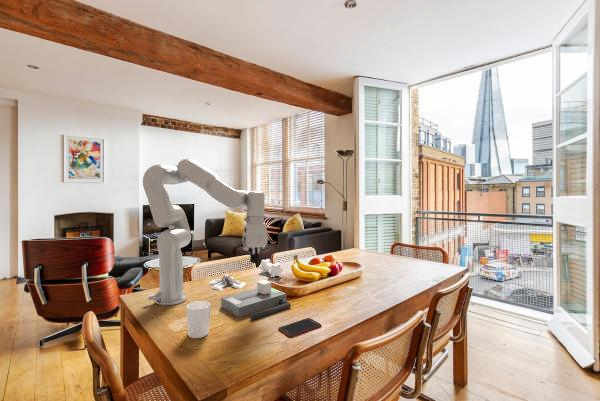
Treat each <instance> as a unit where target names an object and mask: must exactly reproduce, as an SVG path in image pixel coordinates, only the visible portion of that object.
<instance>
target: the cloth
mask: <svg viewBox="0 0 600 401" xmlns="http://www.w3.org/2000/svg"><path fill="white" fill-rule="evenodd" d="M208 285H212V286H211V287H210V289H211V290H215V291H223V290H224V289H225V288H227V287H231V288H234V289H237V290H242V289H244V287H245V286H246V285H247V283H246V282H243V281H242V282H241V281H240V280H238V279H236V280H234V277H232V276H230V275H229V274H228V273H225V274H224V275H223V276H222V278H221V279H220V278H219V279H214V280H211V281H209V282H208Z"/></svg>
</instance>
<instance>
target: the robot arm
mask: <svg viewBox="0 0 600 401" xmlns="http://www.w3.org/2000/svg"><path fill="white" fill-rule="evenodd" d="M188 182H190V183H192V184H193V185H195V186H197V187H198V188H200V189H202V190H203V191H204V192H206V194H208V195H209V196H211V197H212V199H214V200H216V201H217V202H218V203H221V204H222V205H224V206H226V207H228V208H230V209H238V208H239V209H240V208H246V217H244V218H243V221H244V222H246V223H244V227H243V233H242V246H243V247H242V250H243V251H247V252H248V253H249V254H250V255H249V256H250V259H249V260H250V263H252V264H258V263H259V254H260V253H261V251H262V250H263V249H265V248H266V246H268V229H267V224H266V223H265V199H266V198H265V195H266V194H265V192H264V191H261V190H260V191H259V190H258V191H257V190H252V191H251V190H250V191H247V190H241V189H234V188H233V187H230V186H229V185H227V184H226V183H224V182H222V181H221V179H219V177H218V175H217V173H215V172H213V171H211V170H210V169H208V168H207V167H205V166H204V164H203V163H202V162H201V161H199V160H195V159H191V158H185V159H181V160H180V161H179V162H178V163H177V165H169V164H168V165H167V164H154V165H151V166H150V167H148V168H147V169H146V170H145V171H144V173H143V176H142V187H143V190H144V192H145V195H146V198H147V200H148V205H149V209H150V212H151V216H152V218H153V222H154V223H155V225H156V226H158V227H159V228H168V229H166V230H164V231H162V232H161V233H160V234H159V235H158V237H157V239H156V246H157V251H158V258H159V259H158V260H159V261H158V262H159V264H158V265H159V267H158V268H159V290H157V293H154V294H150V295H147V297H146V298H147V301H155V303H156V304H157V305H158V306H159V305H160V306H174V305H179V304H181V303H183V302H185V301H186V300H187V297H188V296H187V294H186V293H184V262H183V261H184V260H183V259H184V258H183V254H182V253H183V252H182V250H181V249H182V248H184V247H187V246H188V245H189V244H190V243H191V240H192V234H191V229H190V225H189V223H188V218H187V215H186V212H185V211H184V209H183V208H182V207H180V206H179V205H176V204H172V202H171V199H170V196H169V193H168V191H167V190H166V188H165V187H164V186H165V185H177V184H182V183H183V184H184V183H188Z"/></svg>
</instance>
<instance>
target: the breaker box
mask: <svg viewBox="0 0 600 401" xmlns="http://www.w3.org/2000/svg"><path fill="white" fill-rule="evenodd" d="M280 300H284V301H287V293H285V292H283V291H282V290H278V289H276V288H274V287H272V286H271V293H268V294H261V293H259V292H257V288H253V289H249V290H246V291H242V292H239V293H235V294H231V295H226V296H223V297H221V298H220V304H221V305H220V307H221V308H223V309H224V310H226V312H229V313H230V314H232V315H233V316H235V317H237V318H242V317H244V316H248V315H252V314H255V313H258V312H261V311H264V310H267V309H270V308H273V307H276V306H279V305H281V304H280V303H279V302H280Z"/></svg>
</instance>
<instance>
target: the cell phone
mask: <svg viewBox="0 0 600 401" xmlns="http://www.w3.org/2000/svg"><path fill="white" fill-rule="evenodd" d="M321 327H322V324H321V323H320V322H318V321H315V320H314V319H312V318H310V317H306V318H304V319H301V320H298V321H293V322H290V323H288V324H286V325H282V326H279V327H278V328H277V330H278V331H279V332H280V333H281V334H283V335H284V336H286V337H287V338H289V339H292V338H294V336H295V337H297V335H298V336H300V335H303V334H305V333H309V332H311V331H314V330H317V329H320V328H321ZM308 331H309V332H308ZM302 333H303V334H302ZM291 337H292V338H291Z"/></svg>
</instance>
